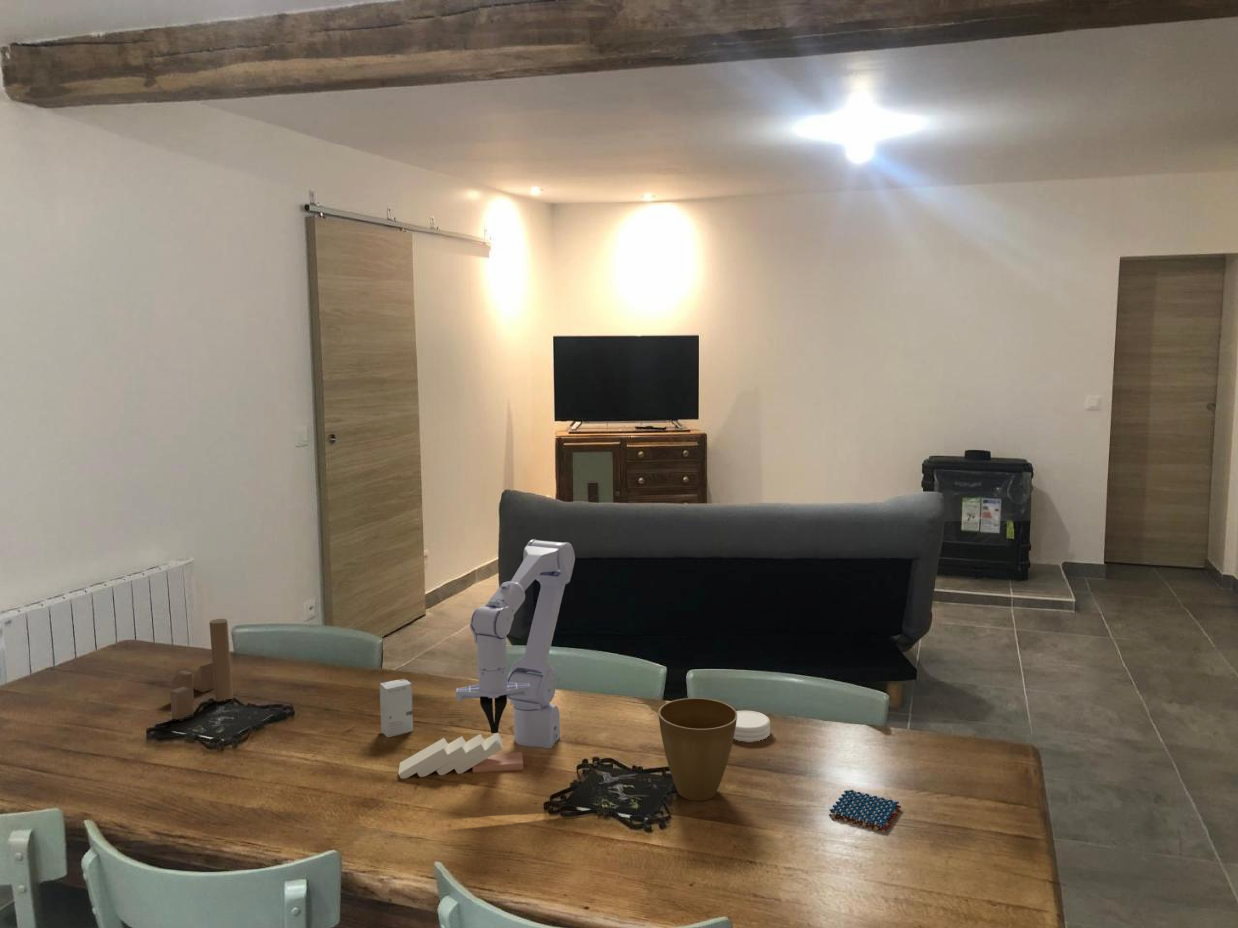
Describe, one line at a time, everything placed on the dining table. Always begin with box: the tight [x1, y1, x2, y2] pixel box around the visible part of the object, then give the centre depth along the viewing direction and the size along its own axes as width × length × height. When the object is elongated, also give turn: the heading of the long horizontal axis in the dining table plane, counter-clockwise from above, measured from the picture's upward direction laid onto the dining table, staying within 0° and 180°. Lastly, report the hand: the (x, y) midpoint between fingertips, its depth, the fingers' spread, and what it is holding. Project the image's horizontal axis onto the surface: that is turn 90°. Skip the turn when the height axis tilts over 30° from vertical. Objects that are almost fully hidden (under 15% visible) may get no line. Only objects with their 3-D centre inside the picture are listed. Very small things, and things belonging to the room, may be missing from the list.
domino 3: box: [435, 733, 485, 776], centre depth 186 cm, size 2×5×10 cm
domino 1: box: [398, 737, 449, 779], centre depth 185 cm, size 2×5×10 cm
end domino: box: [472, 751, 524, 774], centre depth 188 cm, size 2×5×10 cm
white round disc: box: [733, 710, 771, 743], centre depth 204 cm, size 10×10×4 cm
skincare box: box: [379, 678, 414, 738], centre depth 204 cm, size 6×4×12 cm
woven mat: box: [828, 789, 902, 833], centre depth 169 cm, size 10×11×2 cm
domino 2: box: [416, 735, 467, 778], centre depth 186 cm, size 2×5×10 cm
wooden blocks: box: [169, 618, 234, 720], centre depth 225 cm, size 17×20×20 cm
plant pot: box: [657, 697, 737, 802], centre depth 177 cm, size 15×15×16 cm
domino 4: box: [454, 732, 503, 775], centre depth 187 cm, size 2×5×10 cm
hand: (494, 731), depth 187 cm, fingers closed
